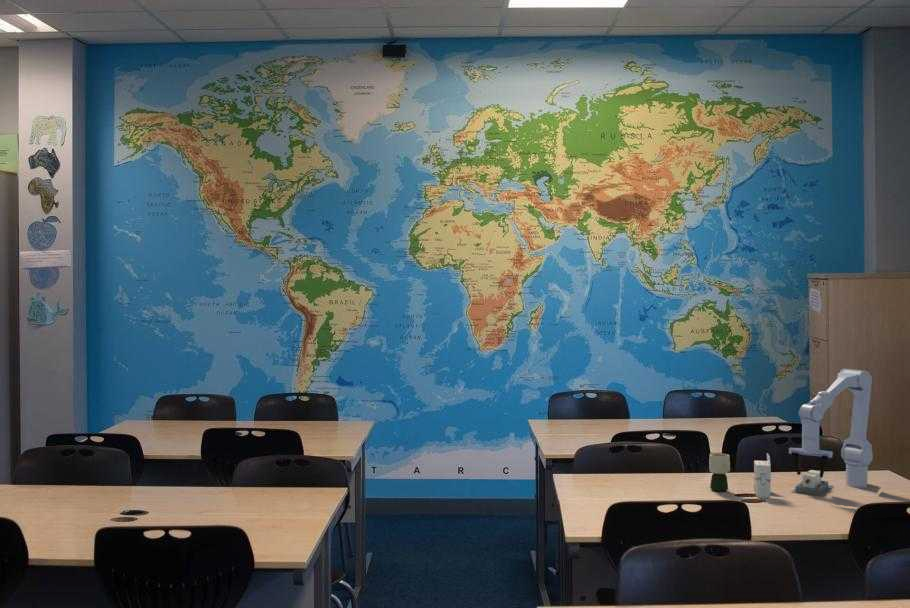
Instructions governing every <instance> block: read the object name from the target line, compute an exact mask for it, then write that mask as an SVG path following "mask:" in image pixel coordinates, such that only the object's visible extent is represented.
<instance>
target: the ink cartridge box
mask: <svg viewBox="0 0 910 608" xmlns="http://www.w3.org/2000/svg"><path fill="white" fill-rule="evenodd" d="M766 459H767V460H754V461H753V470H754V471H753V491H754V492H755V493H754V495H755V497H756V498H758V499H759V498H760V499H771V493H772V492H771V490H772V489H771V482H772V481H771V479H772V478H771V477H772V476H771V474H772V473H771V471H772V470H771V467H772V466H771V465H772V464H771V457H770V455H769V453H768V452H767V453H766Z"/></svg>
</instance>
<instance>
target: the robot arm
mask: <svg viewBox="0 0 910 608" xmlns="http://www.w3.org/2000/svg"><path fill="white" fill-rule="evenodd" d="M872 384H873V376H872V375H871V374H870V373H869V371H867V370H859V369H848V368H842V369H841V370H840V372H838V373H837V378H836V379H835V380H834V381H833V383H832V384H831V385H830V386H829V387H828V388H827V389H826V391H823V390H822V391H819V392H818V393H817V394H816V396H815V397H814V398H812V399H811V400H810V401H809V402H808V403H804V404H802V405H801V406H800V408H799V411H798V416H799V418H800V423H801V425H802V427H801V429H802V430H801V447H789V448H788V455H789V454H790V455H791V459H792V461H793V463H794V466H795V469H796V475H797V476H798V475H799V476H800V475H801V473H802V466H801V462H802V456H812V457H813V456H814V457H820V458H819V471H820V477H822V478H823V477H824V472H825V470H826V467H827V464H828V463H829V460H830V459H832V458H833V455H834V453H833V451H829V450H824V449H820V421H821V420H822V419H823V418H824V414H825V412H826V411H827V409H829V407H831V406H832V405H833V404H834V398H836V397H837V396H838V395H839V394H840V393H842V392H843V391H844V390H846V389H847V390H849V391H850V392H851V393H852V394H853V403H852V414H851V424H850V425H851V426H850V434H849V437H848V438H845V440H843V446H842V447H841V450H840V456H841V459H843V461H844V464H845V468H846V469H845V485H846V486H848V487H850V488H867V487H868V484H869V483H868V475H869V474H868V472H869V471H868V469H869V468H868V466H870V464H871V462H872V461H873V458H874V455H873V444H871V442H869V440H868V439H867V432H868V431H867V430H868V422H869V421H868V419H869V411H870V402H871V401H870V400H871V392H872Z"/></svg>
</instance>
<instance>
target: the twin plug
mask: <svg viewBox="0 0 910 608" xmlns="http://www.w3.org/2000/svg"><path fill="white" fill-rule="evenodd" d="M806 474H815V475H817V484H819V485H822V481H823V480H822V479H823V477H820V470H814V469H810V470H808V471H807V472H806Z"/></svg>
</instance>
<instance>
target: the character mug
mask: <svg viewBox="0 0 910 608" xmlns="http://www.w3.org/2000/svg"><path fill="white" fill-rule="evenodd" d="M730 458H731V457H730V454H726V453H720V452H719V453H709V459H708V464H709V465H708V467H709V469H708V470H709V472H710V473H712V475H711V479H710V486H709V487H710V489H711V490H712V491H720V492H723V491H728V490H729V484H728V482H729V481H728V476H727V474H728V473H730V472H731V461H730Z"/></svg>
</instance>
